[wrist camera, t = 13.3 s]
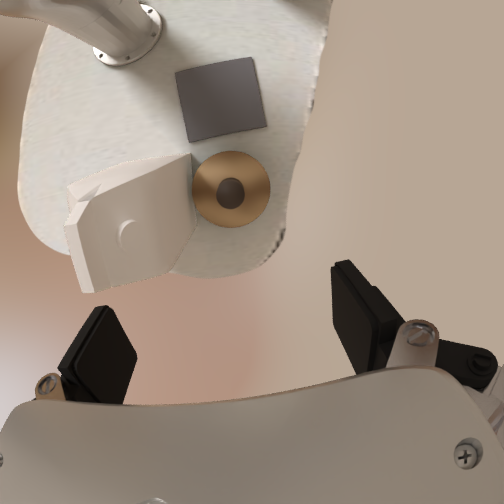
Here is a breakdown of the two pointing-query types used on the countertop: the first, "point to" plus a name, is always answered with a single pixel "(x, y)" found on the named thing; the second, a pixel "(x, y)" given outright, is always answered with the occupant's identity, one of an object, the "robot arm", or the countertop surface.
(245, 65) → the mat
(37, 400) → the robot arm
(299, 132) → the countertop surface
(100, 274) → the milk
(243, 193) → the lid
